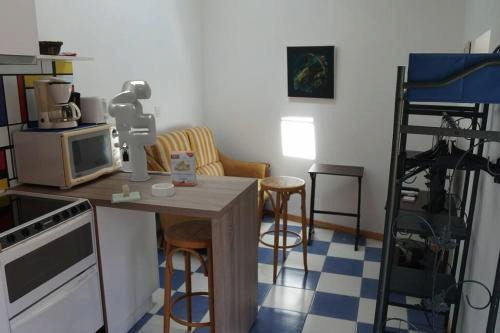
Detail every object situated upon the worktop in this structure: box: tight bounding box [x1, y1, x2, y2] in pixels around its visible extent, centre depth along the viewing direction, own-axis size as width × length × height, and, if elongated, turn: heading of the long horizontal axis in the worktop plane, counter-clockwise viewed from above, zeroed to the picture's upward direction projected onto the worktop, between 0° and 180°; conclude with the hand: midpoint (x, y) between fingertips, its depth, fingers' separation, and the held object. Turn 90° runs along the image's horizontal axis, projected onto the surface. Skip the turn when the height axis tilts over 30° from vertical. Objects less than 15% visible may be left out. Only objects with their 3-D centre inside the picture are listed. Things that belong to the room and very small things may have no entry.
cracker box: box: [170, 150, 197, 187], centre depth 251 cm, size 14×6×21 cm, turn 84°
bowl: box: [151, 182, 175, 198], centre depth 233 cm, size 12×12×5 cm
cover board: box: [112, 184, 142, 204], centre depth 226 cm, size 14×14×7 cm
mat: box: [110, 192, 143, 204], centre depth 227 cm, size 14×16×1 cm
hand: (126, 159), depth 222 cm, fingers open, 9 cm apart
